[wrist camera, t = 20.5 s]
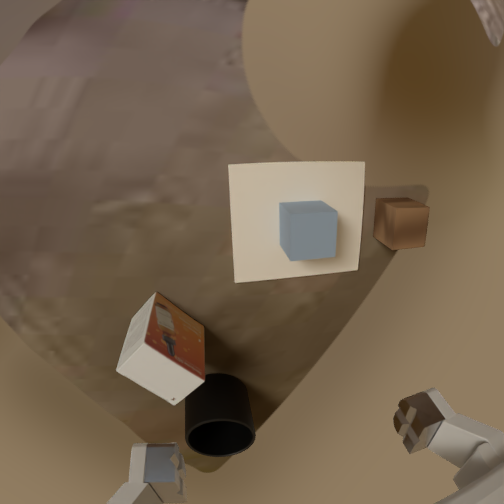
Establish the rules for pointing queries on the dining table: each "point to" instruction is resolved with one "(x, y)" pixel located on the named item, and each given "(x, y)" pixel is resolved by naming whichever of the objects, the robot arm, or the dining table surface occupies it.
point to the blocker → (400, 223)
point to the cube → (307, 230)
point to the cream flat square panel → (292, 190)
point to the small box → (164, 350)
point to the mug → (219, 417)
